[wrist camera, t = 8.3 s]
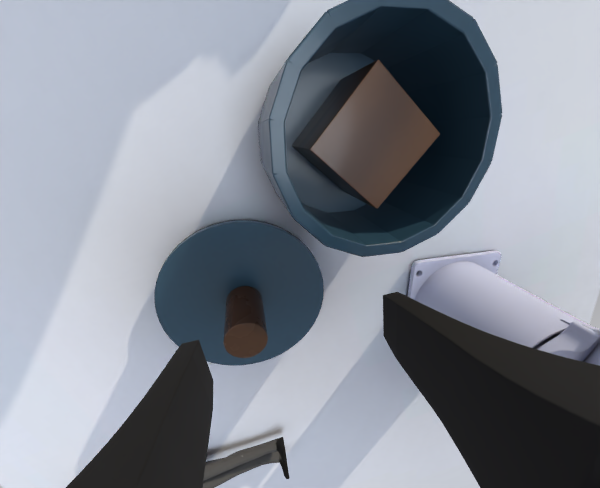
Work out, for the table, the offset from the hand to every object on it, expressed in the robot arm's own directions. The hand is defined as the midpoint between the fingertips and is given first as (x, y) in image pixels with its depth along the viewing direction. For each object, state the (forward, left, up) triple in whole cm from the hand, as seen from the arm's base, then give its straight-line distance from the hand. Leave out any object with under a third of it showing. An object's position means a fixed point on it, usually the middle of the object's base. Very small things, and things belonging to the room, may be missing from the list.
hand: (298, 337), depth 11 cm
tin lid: (-3, +2, -9) cm, 9 cm away
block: (+7, -5, -9) cm, 12 cm away
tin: (+7, -5, -9) cm, 12 cm away
